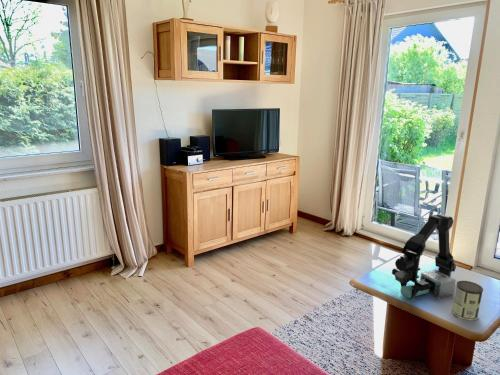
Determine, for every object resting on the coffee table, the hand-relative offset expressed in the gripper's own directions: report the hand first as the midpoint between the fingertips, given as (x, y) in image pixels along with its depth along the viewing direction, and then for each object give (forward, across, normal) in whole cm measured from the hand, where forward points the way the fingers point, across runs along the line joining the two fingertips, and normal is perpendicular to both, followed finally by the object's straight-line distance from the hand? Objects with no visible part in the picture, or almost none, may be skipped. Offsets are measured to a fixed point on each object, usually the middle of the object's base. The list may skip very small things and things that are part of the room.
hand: (407, 294), depth 179 cm
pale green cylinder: (+2, 0, +4) cm, 5 cm away
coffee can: (+2, +20, +14) cm, 24 cm away
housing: (+2, 0, +19) cm, 19 cm away
